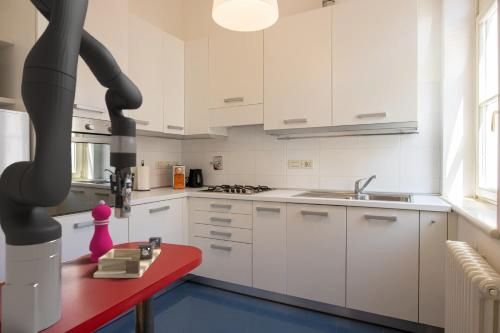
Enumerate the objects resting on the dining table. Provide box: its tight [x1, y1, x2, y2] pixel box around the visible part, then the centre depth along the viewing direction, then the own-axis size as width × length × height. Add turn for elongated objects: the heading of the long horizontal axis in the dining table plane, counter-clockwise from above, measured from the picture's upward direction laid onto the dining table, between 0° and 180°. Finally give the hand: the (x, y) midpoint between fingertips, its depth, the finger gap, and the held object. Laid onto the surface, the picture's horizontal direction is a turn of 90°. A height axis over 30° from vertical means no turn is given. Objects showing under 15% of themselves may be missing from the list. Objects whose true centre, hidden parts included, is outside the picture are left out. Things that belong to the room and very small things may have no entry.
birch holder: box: [93, 243, 162, 279], centre depth 93 cm, size 23×13×6 cm, turn 3°
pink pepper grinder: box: [88, 200, 114, 263], centre depth 96 cm, size 7×7×20 cm
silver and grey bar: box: [141, 236, 162, 257], centre depth 100 cm, size 14×4×3 cm, turn 3°
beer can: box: [113, 179, 132, 220], centre depth 88 cm, size 5×5×12 cm
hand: (122, 206), depth 88 cm, fingers closed on beer can, 4 cm apart
